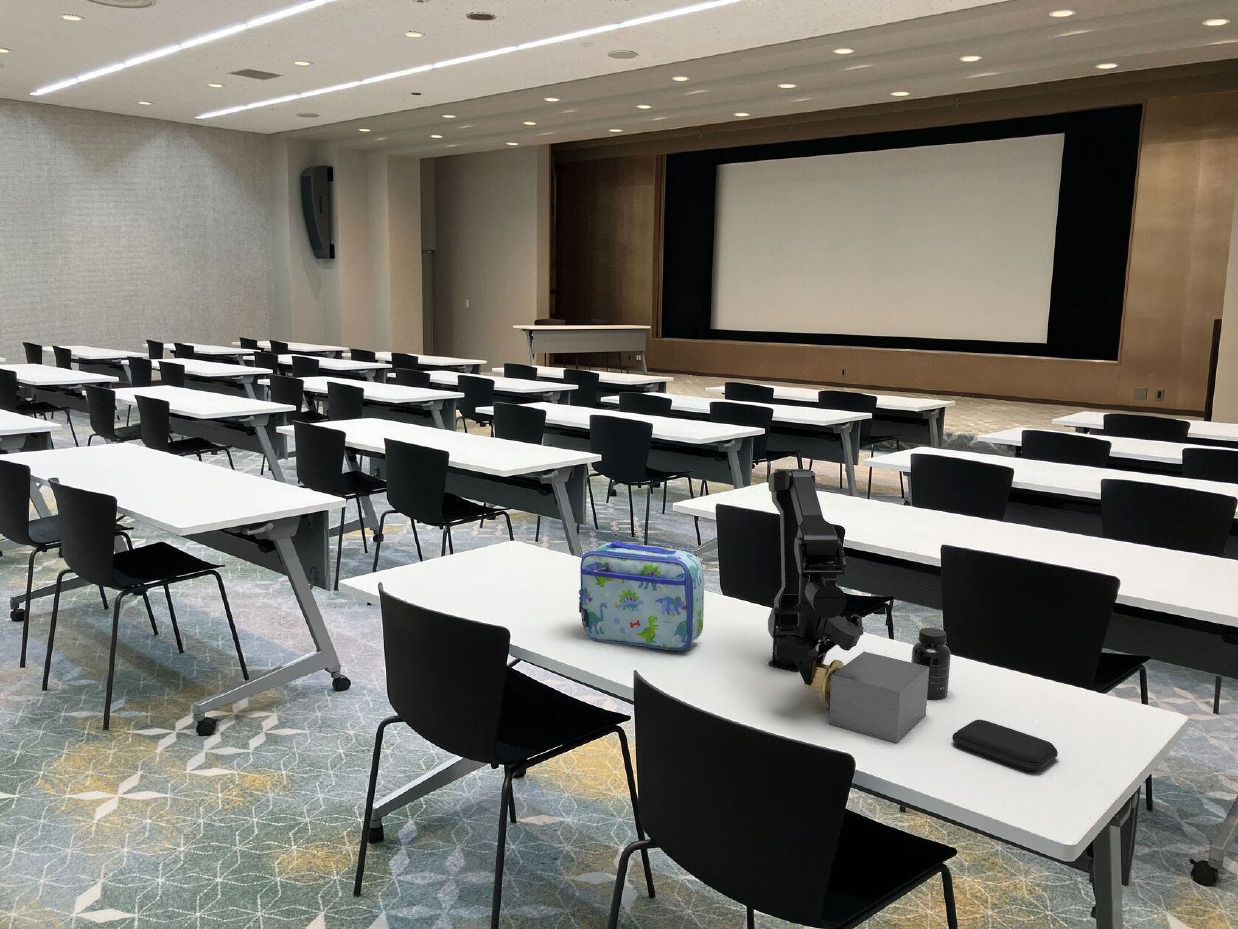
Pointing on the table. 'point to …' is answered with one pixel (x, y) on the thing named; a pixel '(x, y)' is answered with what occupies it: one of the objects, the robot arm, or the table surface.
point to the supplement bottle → (933, 660)
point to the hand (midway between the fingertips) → (811, 682)
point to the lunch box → (642, 596)
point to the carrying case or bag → (1005, 745)
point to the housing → (879, 696)
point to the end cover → (824, 679)
